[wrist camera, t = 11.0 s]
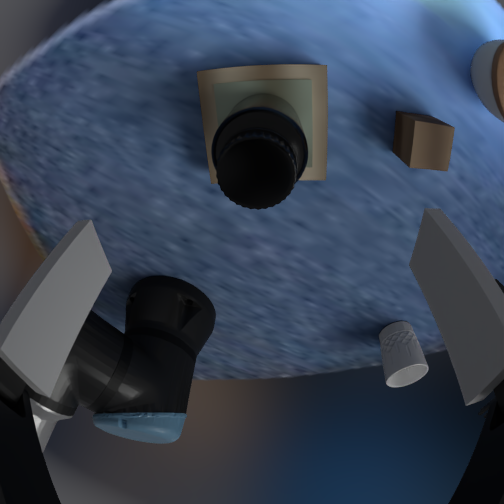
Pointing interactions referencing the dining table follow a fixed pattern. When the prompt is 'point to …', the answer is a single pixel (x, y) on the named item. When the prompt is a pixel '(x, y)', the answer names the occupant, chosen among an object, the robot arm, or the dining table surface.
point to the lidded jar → (490, 76)
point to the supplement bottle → (259, 151)
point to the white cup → (401, 355)
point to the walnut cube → (422, 141)
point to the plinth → (277, 83)
